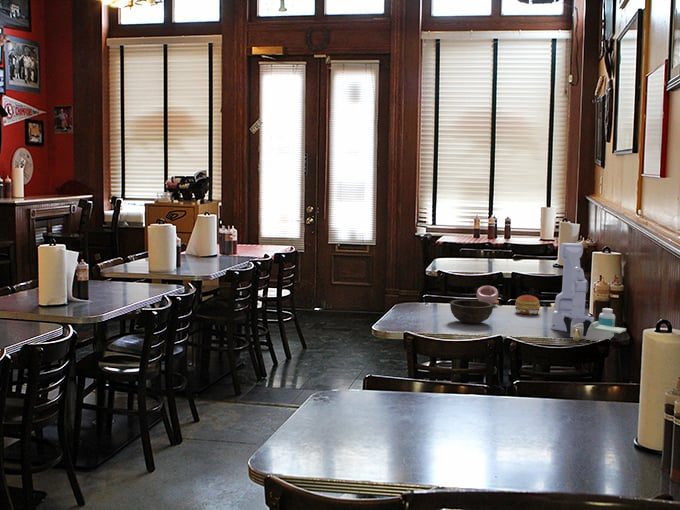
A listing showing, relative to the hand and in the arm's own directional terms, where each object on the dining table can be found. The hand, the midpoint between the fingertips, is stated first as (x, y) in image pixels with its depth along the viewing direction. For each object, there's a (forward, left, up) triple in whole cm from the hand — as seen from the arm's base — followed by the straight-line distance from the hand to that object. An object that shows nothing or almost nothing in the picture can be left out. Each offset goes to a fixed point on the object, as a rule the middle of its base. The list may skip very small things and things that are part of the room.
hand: (576, 334), depth 394 cm
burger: (-46, +47, -3) cm, 66 cm away
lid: (+11, +9, +3) cm, 15 cm away
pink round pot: (-74, +54, -3) cm, 92 cm away
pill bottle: (+7, +20, -3) cm, 21 cm away
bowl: (-56, +1, -3) cm, 56 cm away
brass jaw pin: (0, 0, -3) cm, 3 cm away
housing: (+3, +9, -3) cm, 10 cm away
